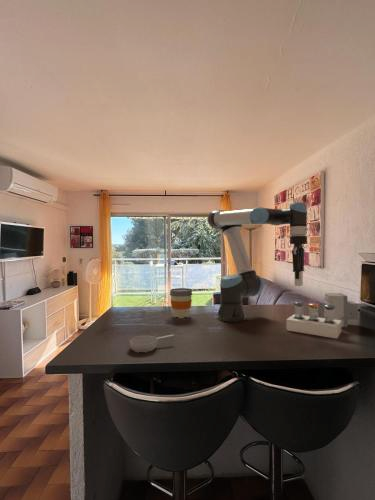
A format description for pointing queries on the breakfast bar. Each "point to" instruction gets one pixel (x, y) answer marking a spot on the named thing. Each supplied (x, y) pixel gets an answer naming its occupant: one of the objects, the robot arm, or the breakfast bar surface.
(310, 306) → the plunger mid
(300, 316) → the plunger left
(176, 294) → the reusable coffee cup
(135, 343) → the small pan
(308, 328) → the panel
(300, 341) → the breakfast bar surface
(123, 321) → the breakfast bar surface
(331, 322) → the plunger right
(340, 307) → the circuit breaker
